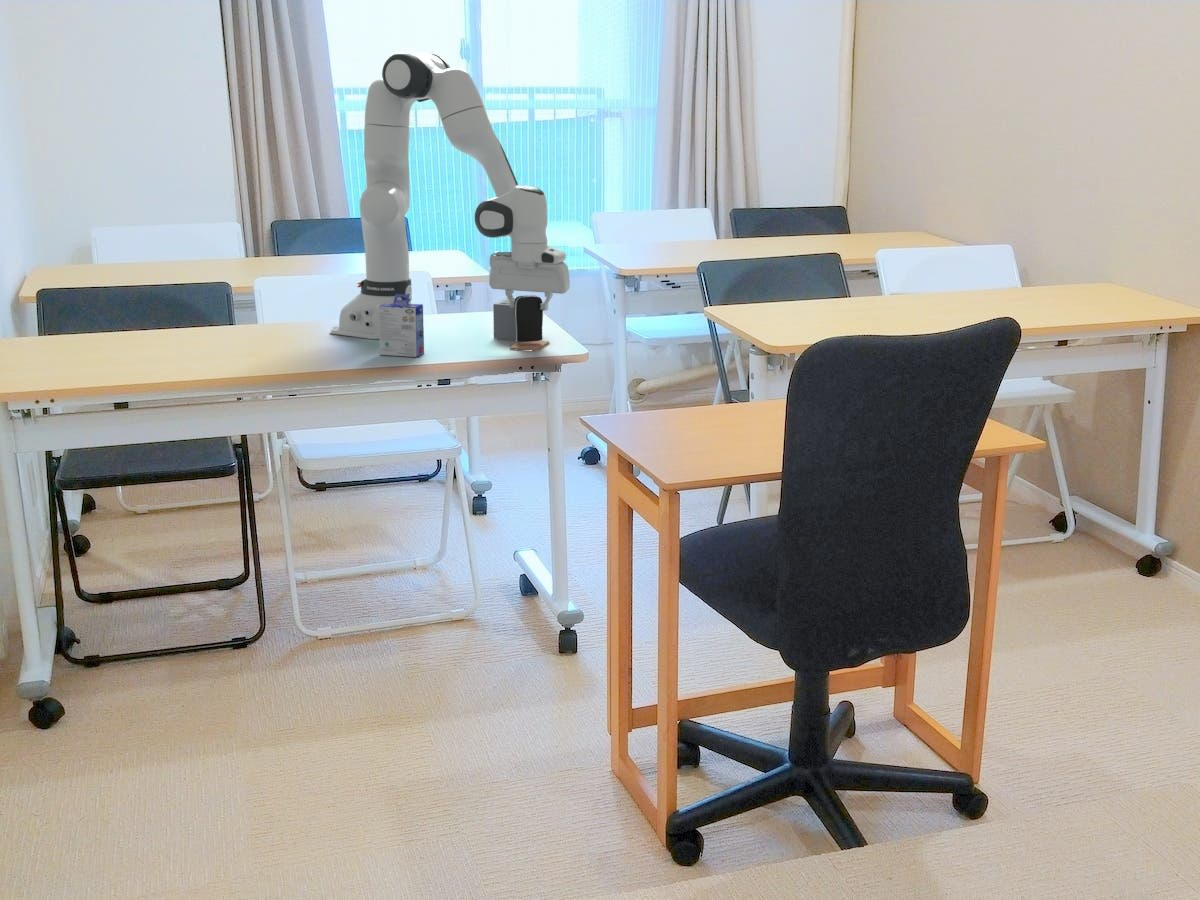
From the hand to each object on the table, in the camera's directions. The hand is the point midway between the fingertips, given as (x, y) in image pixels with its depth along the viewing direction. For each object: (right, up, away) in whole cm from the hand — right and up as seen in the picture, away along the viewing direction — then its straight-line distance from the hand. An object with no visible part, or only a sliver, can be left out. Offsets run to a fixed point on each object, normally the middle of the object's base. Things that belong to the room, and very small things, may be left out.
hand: (529, 308), depth 294 cm
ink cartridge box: (-30, -12, -8) cm, 34 cm away
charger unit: (-5, -5, +15) cm, 17 cm away
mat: (0, -9, +3) cm, 10 cm away
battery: (0, -8, +3) cm, 8 cm away
